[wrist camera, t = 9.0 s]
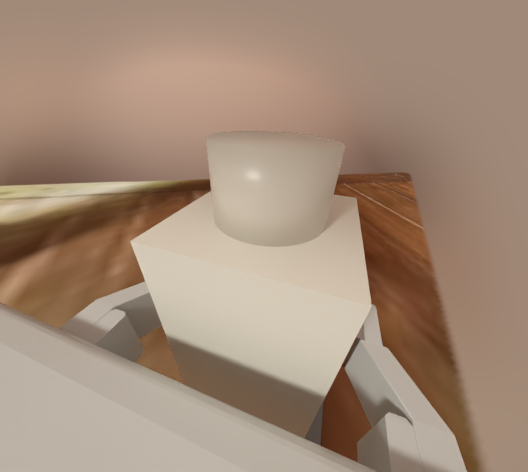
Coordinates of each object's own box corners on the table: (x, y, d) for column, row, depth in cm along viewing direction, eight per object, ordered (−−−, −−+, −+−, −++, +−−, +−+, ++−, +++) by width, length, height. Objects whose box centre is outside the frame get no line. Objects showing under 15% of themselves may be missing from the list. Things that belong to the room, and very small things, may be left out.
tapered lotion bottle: (196, 416, 11) (93, 143, 3) (237, 331, 15) (228, 124, 7) (291, 462, 9) (432, 187, 2) (307, 355, 13) (375, 136, 6)
